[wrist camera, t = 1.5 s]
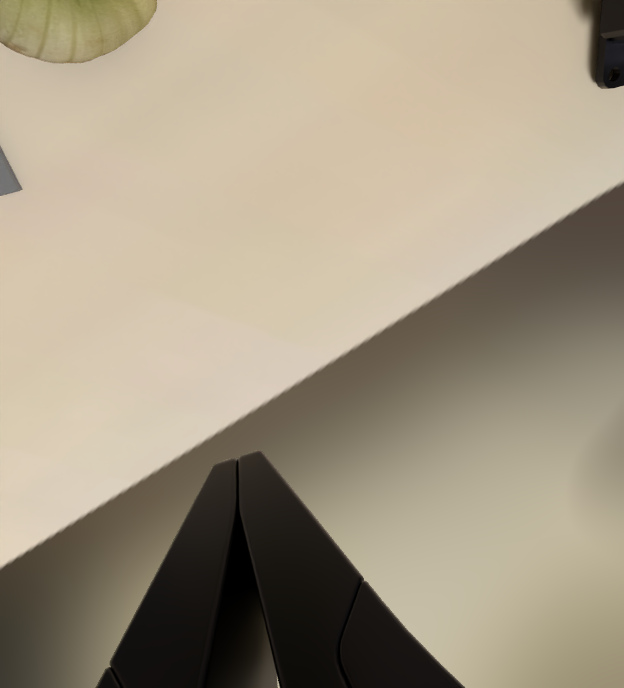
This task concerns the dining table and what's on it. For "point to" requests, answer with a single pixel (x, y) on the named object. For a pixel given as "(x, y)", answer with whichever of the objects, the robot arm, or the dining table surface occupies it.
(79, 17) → the fennel bulb
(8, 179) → the mat
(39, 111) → the dining table surface
